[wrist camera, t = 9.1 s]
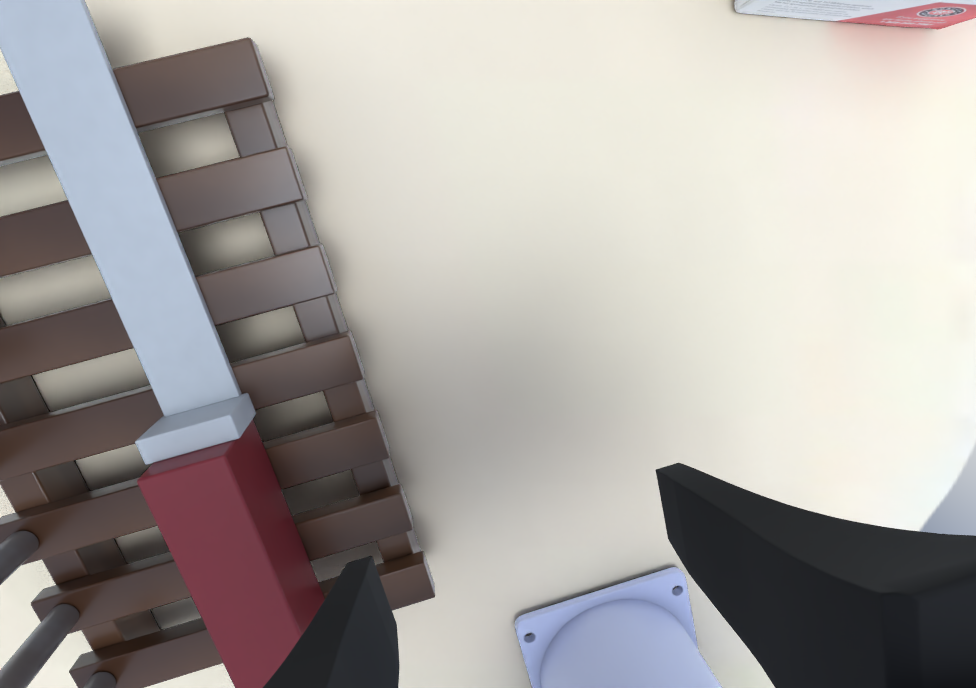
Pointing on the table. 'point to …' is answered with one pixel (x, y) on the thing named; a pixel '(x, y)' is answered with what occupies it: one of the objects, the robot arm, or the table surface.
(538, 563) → the table surface
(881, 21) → the ink cartridge box
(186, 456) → the knife
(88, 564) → the drying rack
